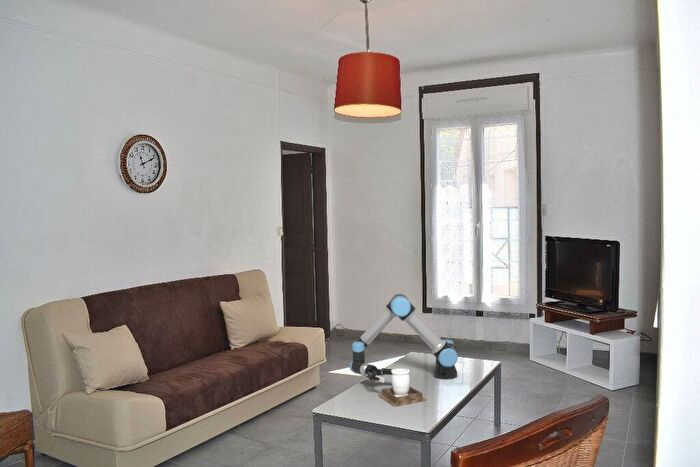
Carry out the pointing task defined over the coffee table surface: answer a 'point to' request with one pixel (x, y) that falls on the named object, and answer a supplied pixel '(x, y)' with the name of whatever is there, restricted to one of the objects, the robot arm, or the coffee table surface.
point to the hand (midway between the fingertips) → (392, 377)
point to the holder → (401, 397)
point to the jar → (400, 381)
